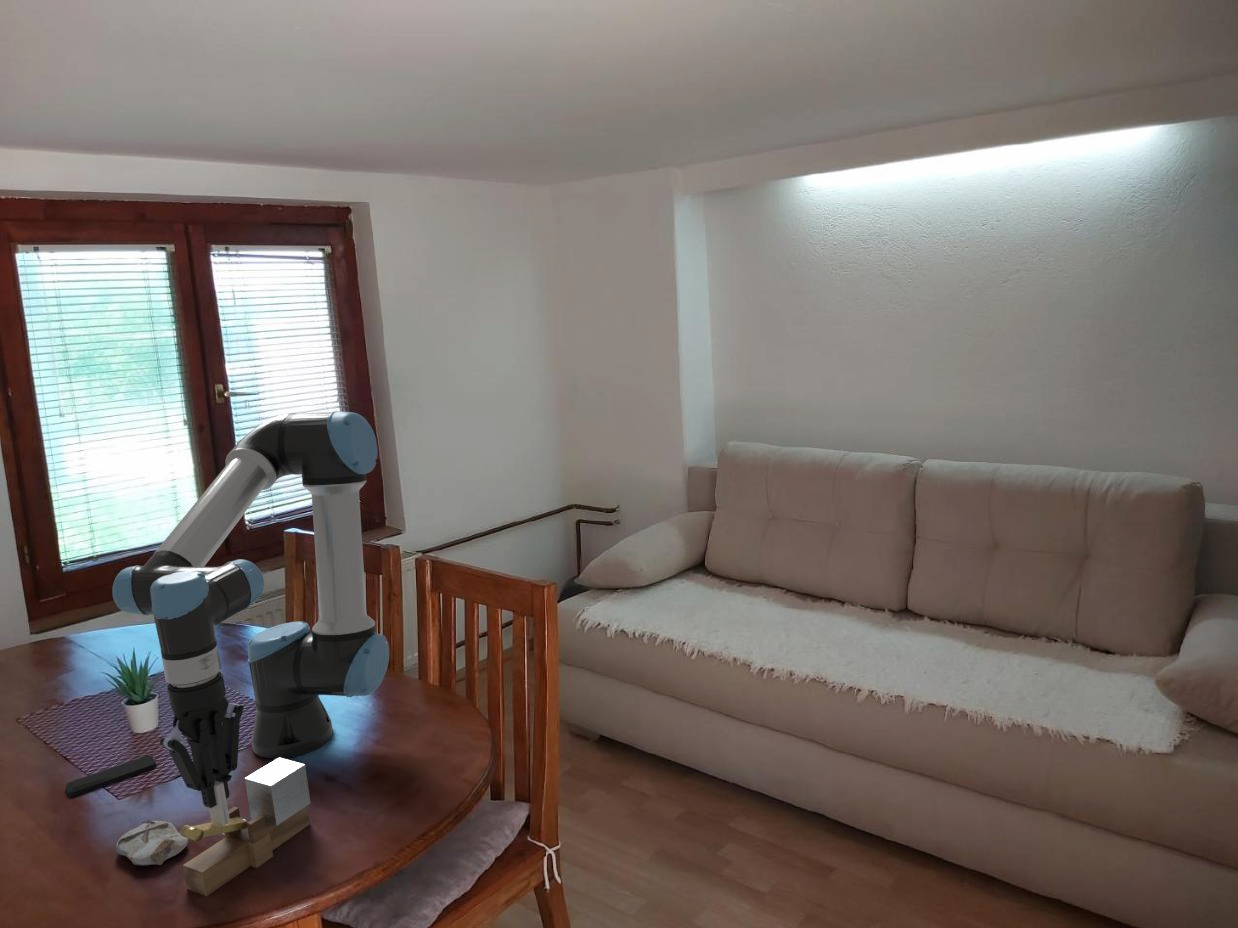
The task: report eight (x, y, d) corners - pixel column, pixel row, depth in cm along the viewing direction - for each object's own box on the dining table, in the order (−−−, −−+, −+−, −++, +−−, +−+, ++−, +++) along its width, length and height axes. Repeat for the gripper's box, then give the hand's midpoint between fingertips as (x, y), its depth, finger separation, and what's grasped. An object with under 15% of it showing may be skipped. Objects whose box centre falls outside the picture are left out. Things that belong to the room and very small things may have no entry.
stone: (107, 853, 149) (103, 834, 149) (163, 825, 156) (160, 807, 156) (142, 879, 142) (138, 859, 141) (199, 848, 149) (196, 830, 148)
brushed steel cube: (250, 817, 149) (244, 777, 148) (285, 795, 155) (279, 757, 154) (276, 825, 146) (270, 785, 145) (310, 803, 152) (304, 764, 151)
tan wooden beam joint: (181, 886, 139) (173, 843, 138) (285, 816, 156) (280, 777, 155) (212, 898, 135) (205, 855, 134) (316, 825, 153) (310, 786, 151)
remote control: (152, 762, 180) (64, 789, 170) (151, 753, 179) (63, 781, 170) (159, 771, 176) (69, 800, 167) (158, 762, 176) (68, 791, 166)
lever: (236, 823, 145) (177, 836, 136) (238, 813, 146) (179, 825, 136) (254, 829, 143) (195, 842, 134) (255, 819, 144) (196, 831, 135)
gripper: (172, 699, 128) (200, 851, 133) (247, 663, 139) (271, 804, 144) (138, 691, 132) (167, 839, 136) (214, 656, 143) (238, 794, 147)
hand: (220, 821), depth 140 cm, fingers closed
